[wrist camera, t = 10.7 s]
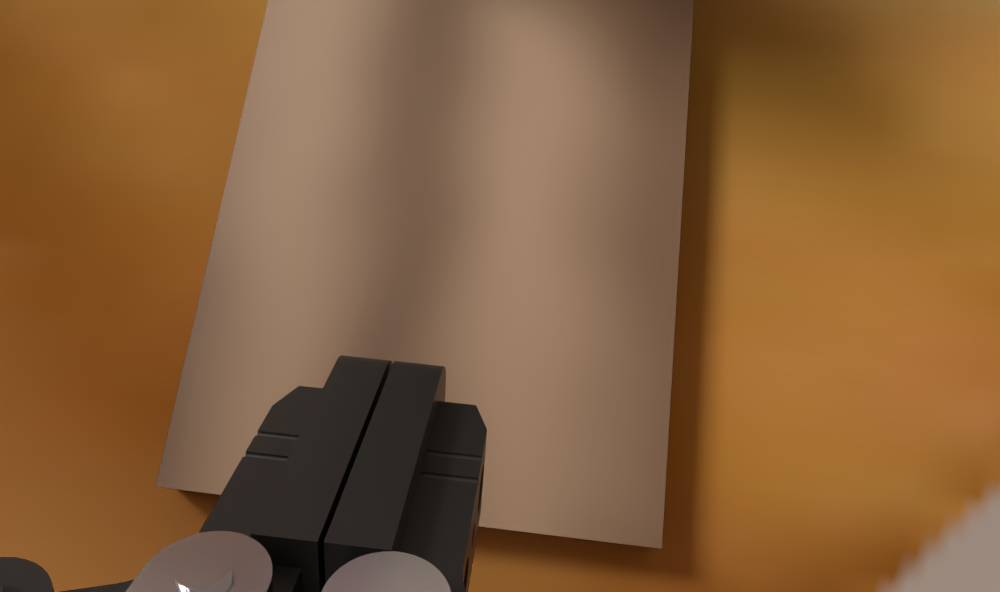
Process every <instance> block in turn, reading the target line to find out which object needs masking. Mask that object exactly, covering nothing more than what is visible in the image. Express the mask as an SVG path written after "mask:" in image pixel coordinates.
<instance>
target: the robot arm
mask: <svg viewBox="0 0 1000 592" xmlns="http://www.w3.org/2000/svg"><path fill="white" fill-rule="evenodd" d="M445 389H446V368H445V366H437V365H428V364H419V363H410V362H401V361H394V362H393V363H392V361H390V360H380V359H371V358H362V357H353V356H344V355H341V356H340V357H339V358H338V359H337V361H336V363H335V365H334V367H333V369H332V371H331V373H330V375H329V377H328V379H327V381H326V383H325V385H324V387H323V388H315V387H306V386H298V387H297V388H295V389H294V390H293V391H291V392H290V393H289V394H287V395H286V396H285V397H283V398H282V399H281V400H279V401H278V402H276V403H275V404H274V405H272V407H271V409H270V410H269V412H268V414H267V416H266V417H265V419H264V421H263V422H262V424H261V426H260V428H259V429H258V434H257V436H254V438H253V440H252V442H251V443H250V445H249V447H248V448H247V450H246V455H245V457H242V459H241V461H240V462H239V464H238V466H237V468H236V469H235V471H234V473H233V474H232V476H231V478H230V480H229V481H228V483H227V485H226V487H225V488H224V490H223V492H222V494H221V495H220V497H219V499H218V500H217V502H216V504H215V506H214V507H213V509H212V511H211V513H210V514H209V516H208V518H207V520H206V521H205V523H204V525H203V526H202V528H201V530H200V532H199V533H198V534H194V535H190V536H188V537H185V538H182V539H180V540H178V541H176V542H174V543H172V544H170V545H168V546H167V547H165V548H164V549H162V550H161V551H159V552H158V553H157V554H156V555H155V556H153V557H152V558H151V559H150V560H149V561H148V563H147V564H146V565H145V566H144V567H143V569H142V570H141V571H140V573H139V574H138V575H137V577H136V578H135V579H134V580H130V581H127V582H122V583H117V584H111V585H104V586H97V587H90V588H83V589H76V590H69V591H61V592H468V588H469V582H470V576H471V569H472V563H473V557H474V551H475V544H476V538H477V532H478V526H479V520H480V514H481V503H482V490H483V476H484V463H485V450H486V437H487V428H486V426H485V424H484V422H483V419H482V417H481V415H480V413H479V410H478V408H477V406H476V405H470V404H461V403H452V402H445ZM0 592H54V589H53V586H52V582H51V579H50V577H49V575H48V573H47V572H46V571H45V570H44V569H43V568H42V567H41V566H39V565H38V564H36V563H34V562H31V561H29V560H26V559H21V558H15V557H0Z"/></svg>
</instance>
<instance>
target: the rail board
mask: <svg viewBox="0 0 1000 592" xmlns="http://www.w3.org/2000/svg"><path fill="white" fill-rule="evenodd" d="M693 10H694V0H268V4H267V8H266V12H265V17H264V21H263V25H262V29H261V34H260V38H259V42H258V47H257V51H256V55H255V60H254V64H253V68H252V73H251V77H250V81H249V86H248V90H247V94H246V99H245V103H244V107H243V111H242V116H241V120H240V124H239V129H238V133H237V137H236V142H235V146H234V150H233V155H232V159H231V163H230V168H229V172H228V176H227V181H226V185H225V189H224V194H223V198H222V202H221V206H220V211H219V215H218V219H217V224H216V228H215V232H214V237H213V241H212V245H211V250H210V254H209V258H208V263H207V267H206V271H205V276H204V280H203V284H202V289H201V293H200V297H199V301H198V306H197V310H196V314H195V319H194V323H193V327H192V332H191V336H190V340H189V345H188V349H187V353H186V358H185V362H184V366H183V371H182V375H181V379H180V384H179V388H178V392H177V396H176V401H175V405H174V409H173V414H172V418H171V422H170V427H169V431H168V435H167V440H166V444H165V448H164V453H163V457H162V461H161V466H160V470H159V474H158V479H157V483H156V487H161V488H169V489H176V490H184V491H192V492H200V493H208V494H216V495H221V494H222V492H223V490H224V488H225V487H226V485H227V483H228V481H229V480H230V478H231V476H232V474H233V473H234V471H235V469H236V468H237V466H238V464H239V462H240V461H241V459H242V457H245V455H246V450H247V448H248V447H249V445H250V443H251V442H252V440H253V438H254V436H257V434H258V429H259V428H260V426H261V424H262V422H263V421H264V419H265V417H266V416H267V414H268V412H269V410H270V409H271V407H272V405H274V404H275V403H276V402H278V401H279V400H281V399H282V398H283V397H285V396H286V395H287V394H289V393H290V392H291V391H293V390H294V389H295V388H297V387H298V386H306V387H315V388H323V387H324V385H325V383H326V381H327V379H328V377H329V375H330V373H331V371H332V369H333V367H334V365H335V363H336V361H337V359H338V358H339V357H340V356H341V355H344V356H353V357H362V358H371V359H380V360H390V361H392V363H393V362H394V361H401V362H410V363H419V364H428V365H437V366H445V368H446V389H445V402H452V403H461V404H470V405H476V406H477V408H478V410H479V413H480V415H481V417H482V419H483V422H484V424H485V426H486V428H487V437H486V450H485V463H484V476H483V490H482V503H481V514H480V520H479V526H478V527H486V528H494V529H502V530H510V531H519V532H527V533H535V534H543V535H551V536H559V537H568V538H576V539H584V540H592V541H600V542H608V543H617V544H625V545H633V546H641V547H649V548H660V549H662V538H663V521H664V504H665V487H666V470H667V453H668V436H669V419H670V402H671V385H672V368H673V351H674V334H675V317H676V300H677V283H678V266H679V249H680V232H681V215H682V198H683V181H684V164H685V146H686V129H687V112H688V95H689V78H690V61H691V44H692V27H693Z"/></svg>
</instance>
